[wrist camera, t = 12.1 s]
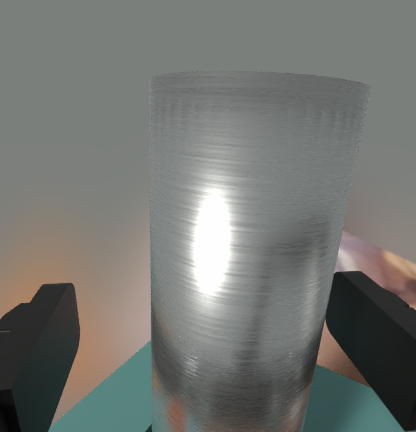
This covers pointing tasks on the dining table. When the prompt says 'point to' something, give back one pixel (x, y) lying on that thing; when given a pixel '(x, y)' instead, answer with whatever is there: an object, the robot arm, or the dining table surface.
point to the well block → (142, 403)
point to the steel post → (244, 241)
